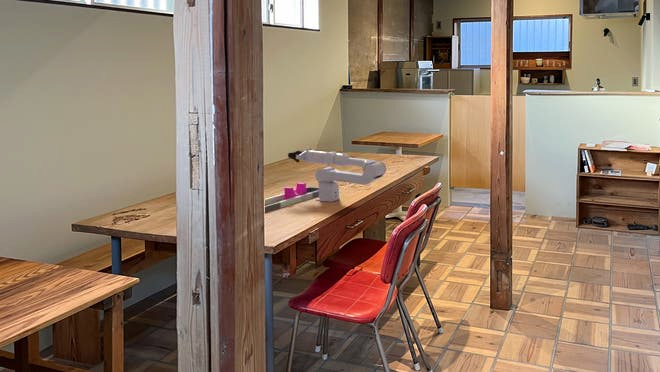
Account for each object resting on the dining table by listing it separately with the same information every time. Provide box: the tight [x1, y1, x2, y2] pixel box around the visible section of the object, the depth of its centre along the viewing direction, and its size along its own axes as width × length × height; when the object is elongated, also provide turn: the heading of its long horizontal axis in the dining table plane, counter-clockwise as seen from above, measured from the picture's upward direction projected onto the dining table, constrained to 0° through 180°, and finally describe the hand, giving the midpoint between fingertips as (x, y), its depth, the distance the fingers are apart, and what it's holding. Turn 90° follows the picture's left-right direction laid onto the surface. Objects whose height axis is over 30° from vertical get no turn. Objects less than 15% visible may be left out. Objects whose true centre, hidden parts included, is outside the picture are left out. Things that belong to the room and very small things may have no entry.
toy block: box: [283, 182, 307, 200], centre depth 341 cm, size 15×6×8 cm, turn 154°
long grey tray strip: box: [264, 186, 319, 213], centre depth 338 cm, size 12×50×2 cm, turn 146°
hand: (293, 154), depth 346 cm, fingers open, 7 cm apart
